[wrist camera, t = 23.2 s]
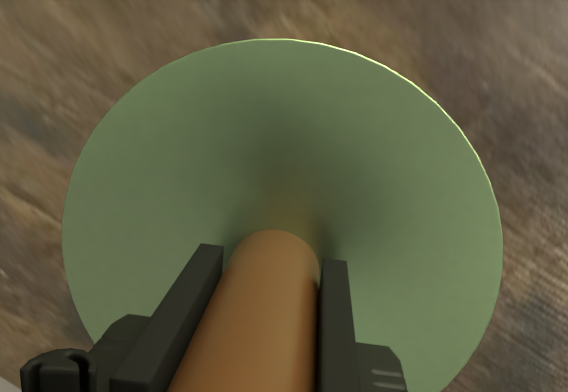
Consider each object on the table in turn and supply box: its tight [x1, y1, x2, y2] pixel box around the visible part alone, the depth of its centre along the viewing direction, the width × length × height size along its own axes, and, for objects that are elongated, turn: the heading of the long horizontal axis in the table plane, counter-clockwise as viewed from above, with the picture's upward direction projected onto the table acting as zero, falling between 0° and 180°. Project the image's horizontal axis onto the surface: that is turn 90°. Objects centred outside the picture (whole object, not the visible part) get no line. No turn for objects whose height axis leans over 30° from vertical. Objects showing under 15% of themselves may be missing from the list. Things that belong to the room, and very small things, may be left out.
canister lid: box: [62, 39, 503, 392], centre depth 13 cm, size 16×16×10 cm
